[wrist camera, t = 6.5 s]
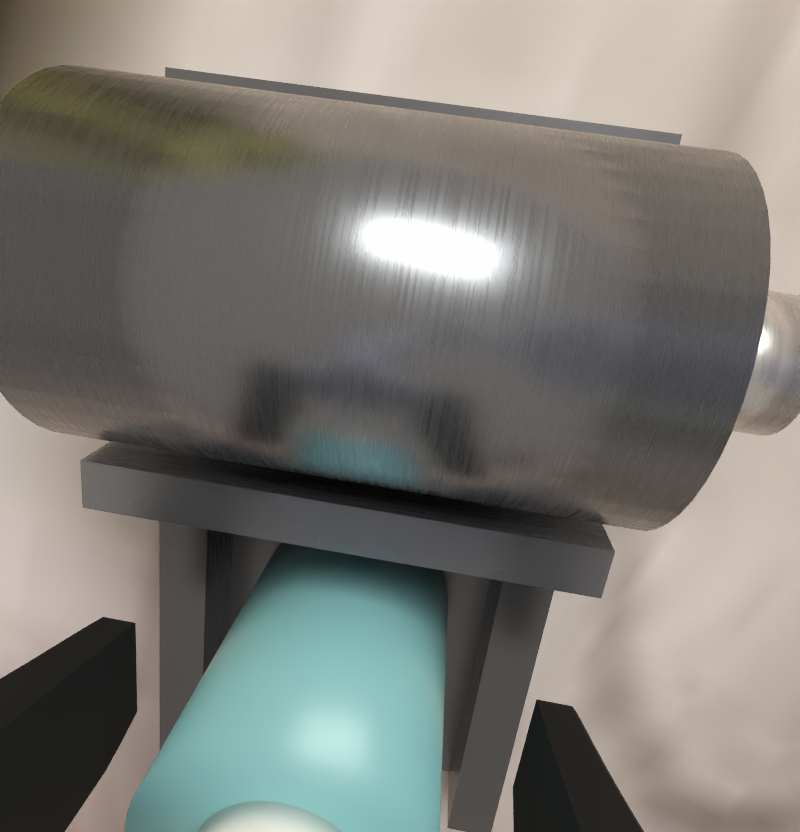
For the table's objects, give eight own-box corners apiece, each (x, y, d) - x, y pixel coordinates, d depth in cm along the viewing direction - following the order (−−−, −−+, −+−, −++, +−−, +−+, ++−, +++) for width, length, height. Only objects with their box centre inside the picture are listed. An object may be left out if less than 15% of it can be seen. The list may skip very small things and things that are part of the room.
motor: (738, 151, 10) (1069, 60, 5) (554, 774, 15) (607, 1097, 10) (186, 78, 11) (-111, -79, 5) (178, 701, 16) (20, 966, 10)
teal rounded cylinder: (476, 555, 13) (489, 862, 7) (411, 698, 14) (372, 1061, 8) (290, 488, 13) (130, 736, 7) (244, 639, 14) (77, 957, 8)
